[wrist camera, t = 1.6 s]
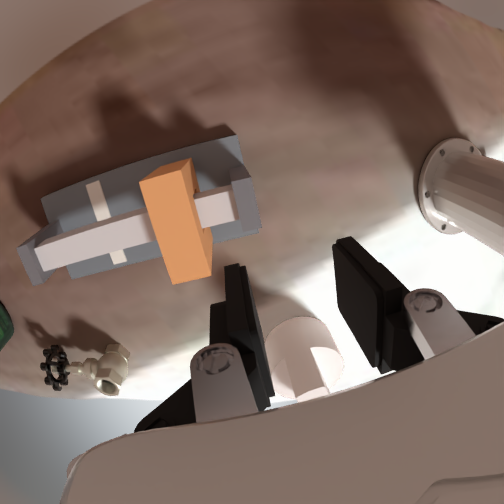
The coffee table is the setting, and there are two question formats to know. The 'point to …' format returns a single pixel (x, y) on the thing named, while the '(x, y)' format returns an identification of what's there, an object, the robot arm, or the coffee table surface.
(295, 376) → the cylinder with rectangular tab
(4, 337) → the coffee jar
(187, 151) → the slider rail fixture
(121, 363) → the valve
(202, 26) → the coffee table surface
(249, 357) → the robot arm
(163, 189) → the orange rectangular prism
